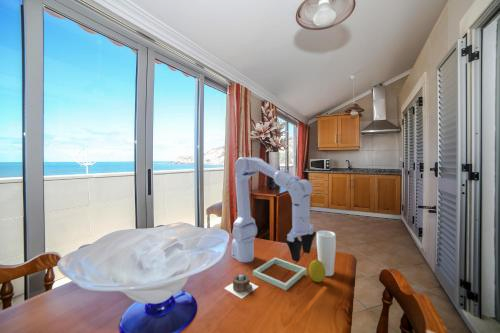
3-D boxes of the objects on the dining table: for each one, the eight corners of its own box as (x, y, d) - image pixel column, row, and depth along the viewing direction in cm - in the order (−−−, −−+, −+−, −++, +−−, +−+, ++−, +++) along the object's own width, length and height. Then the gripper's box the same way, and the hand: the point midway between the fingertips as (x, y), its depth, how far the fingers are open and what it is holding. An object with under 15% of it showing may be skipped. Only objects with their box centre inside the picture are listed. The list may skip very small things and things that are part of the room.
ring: (229, 287, 68) (229, 278, 68) (241, 280, 72) (241, 272, 72) (245, 296, 64) (244, 286, 64) (256, 288, 68) (256, 279, 68)
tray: (252, 277, 76) (252, 271, 76) (274, 263, 86) (274, 257, 86) (286, 293, 67) (286, 285, 66) (306, 275, 77) (306, 268, 77)
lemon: (326, 288, 69) (326, 264, 69) (309, 286, 70) (309, 262, 70) (324, 279, 74) (324, 256, 74) (308, 277, 75) (308, 255, 75)
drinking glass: (316, 276, 76) (315, 235, 76) (317, 267, 83) (316, 229, 82) (336, 279, 74) (336, 237, 73) (335, 270, 80) (335, 231, 80)
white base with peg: (224, 291, 68) (223, 276, 68) (241, 280, 74) (240, 267, 74) (241, 301, 63) (241, 286, 63) (258, 289, 69) (258, 275, 69)
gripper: (301, 223, 62) (302, 268, 62) (321, 213, 73) (321, 252, 73) (281, 219, 66) (281, 261, 67) (302, 210, 77) (303, 247, 78)
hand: (301, 256), depth 70 cm, fingers open, 7 cm apart
